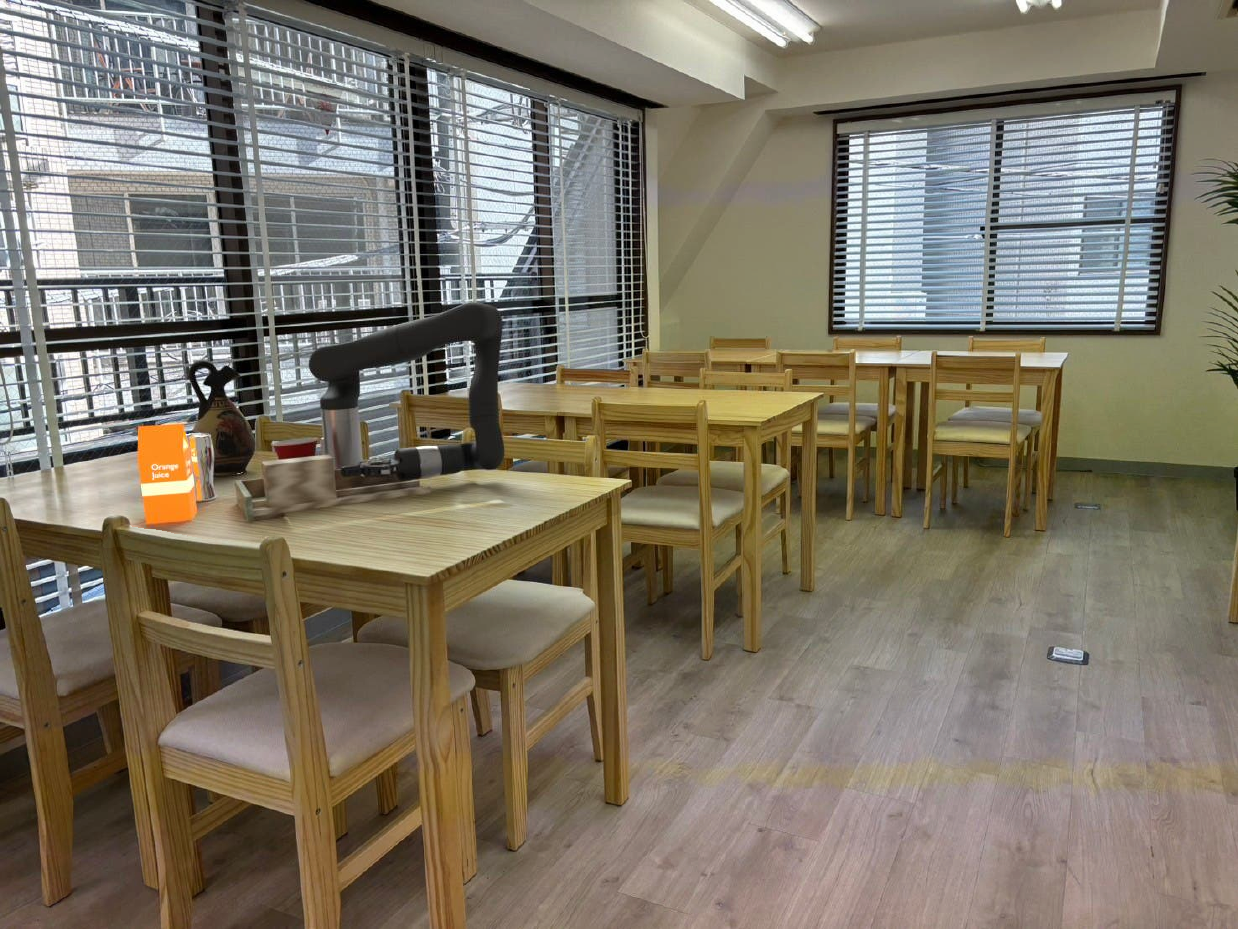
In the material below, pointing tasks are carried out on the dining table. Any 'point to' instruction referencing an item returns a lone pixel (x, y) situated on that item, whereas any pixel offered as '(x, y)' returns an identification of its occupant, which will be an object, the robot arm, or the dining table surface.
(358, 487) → the pads
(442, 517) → the dining table surface
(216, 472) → the ceramic jug
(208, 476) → the beer glass
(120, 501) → the dining table surface
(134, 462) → the dining table surface
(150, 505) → the orange juice
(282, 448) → the plastic cup
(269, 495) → the beech block
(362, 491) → the board
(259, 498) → the pad
